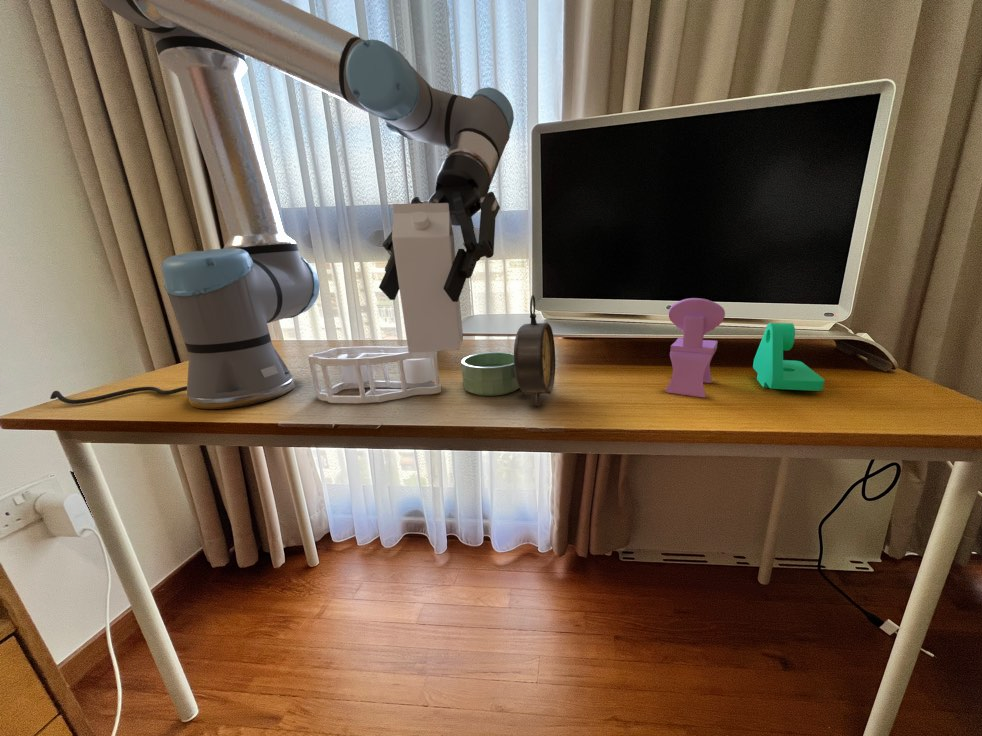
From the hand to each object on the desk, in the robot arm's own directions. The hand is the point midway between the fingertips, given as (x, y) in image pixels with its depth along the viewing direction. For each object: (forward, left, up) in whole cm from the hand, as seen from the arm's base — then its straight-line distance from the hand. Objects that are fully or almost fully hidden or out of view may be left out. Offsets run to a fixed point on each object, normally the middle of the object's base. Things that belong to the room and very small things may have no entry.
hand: (417, 294), depth 57 cm
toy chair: (+35, +24, -18) cm, 46 cm away
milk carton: (0, +3, -8) cm, 9 cm away
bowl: (+3, +14, -17) cm, 23 cm away
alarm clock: (+12, +11, -18) cm, 24 cm away
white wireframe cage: (-14, +6, -18) cm, 23 cm away
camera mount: (+50, +30, -18) cm, 61 cm away
